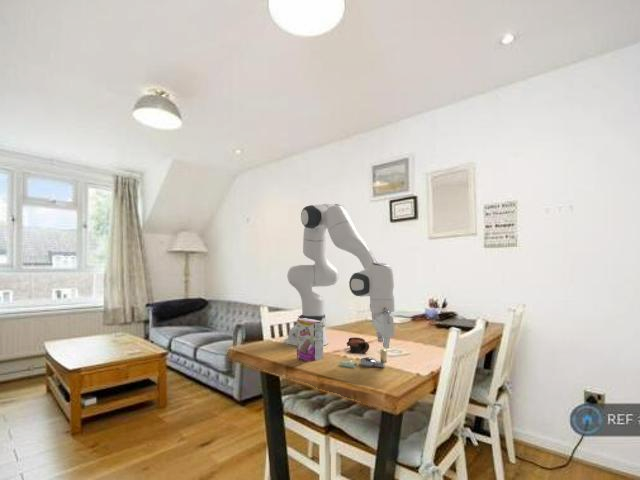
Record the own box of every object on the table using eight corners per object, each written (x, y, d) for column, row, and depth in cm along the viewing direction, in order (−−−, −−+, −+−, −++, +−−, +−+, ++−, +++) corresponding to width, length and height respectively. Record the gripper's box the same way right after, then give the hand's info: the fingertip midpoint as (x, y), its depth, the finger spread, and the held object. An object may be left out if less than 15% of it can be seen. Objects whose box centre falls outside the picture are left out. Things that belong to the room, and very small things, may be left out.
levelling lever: (357, 365, 121) (357, 348, 122) (364, 361, 126) (363, 345, 127) (383, 370, 116) (383, 352, 116) (389, 365, 121) (388, 348, 121)
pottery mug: (340, 356, 141) (342, 337, 146) (354, 362, 146) (355, 343, 151) (362, 353, 133) (364, 334, 138) (376, 360, 139) (377, 341, 143)
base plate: (331, 370, 120) (331, 361, 120) (353, 358, 136) (352, 349, 136) (388, 381, 109) (388, 370, 109) (405, 366, 125) (404, 357, 125)
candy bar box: (296, 359, 135) (296, 319, 137) (305, 356, 139) (305, 317, 140) (314, 364, 127) (314, 322, 129) (323, 362, 131) (323, 320, 132)
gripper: (398, 310, 110) (399, 351, 109) (384, 303, 130) (385, 339, 129) (379, 310, 110) (380, 352, 109) (368, 304, 130) (369, 339, 129)
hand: (383, 345), depth 119 cm, fingers open, 8 cm apart
